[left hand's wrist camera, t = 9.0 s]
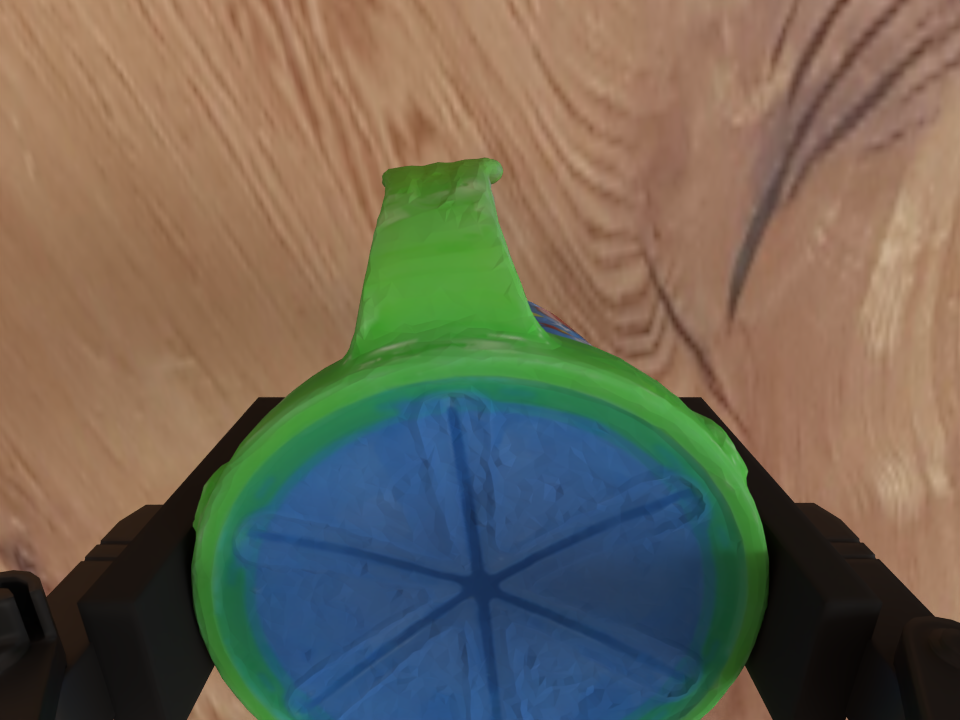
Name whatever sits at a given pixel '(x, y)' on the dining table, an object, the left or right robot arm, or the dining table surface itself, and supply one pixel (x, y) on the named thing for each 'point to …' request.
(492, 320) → the toddler cup with handle
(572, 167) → the dining table surface
